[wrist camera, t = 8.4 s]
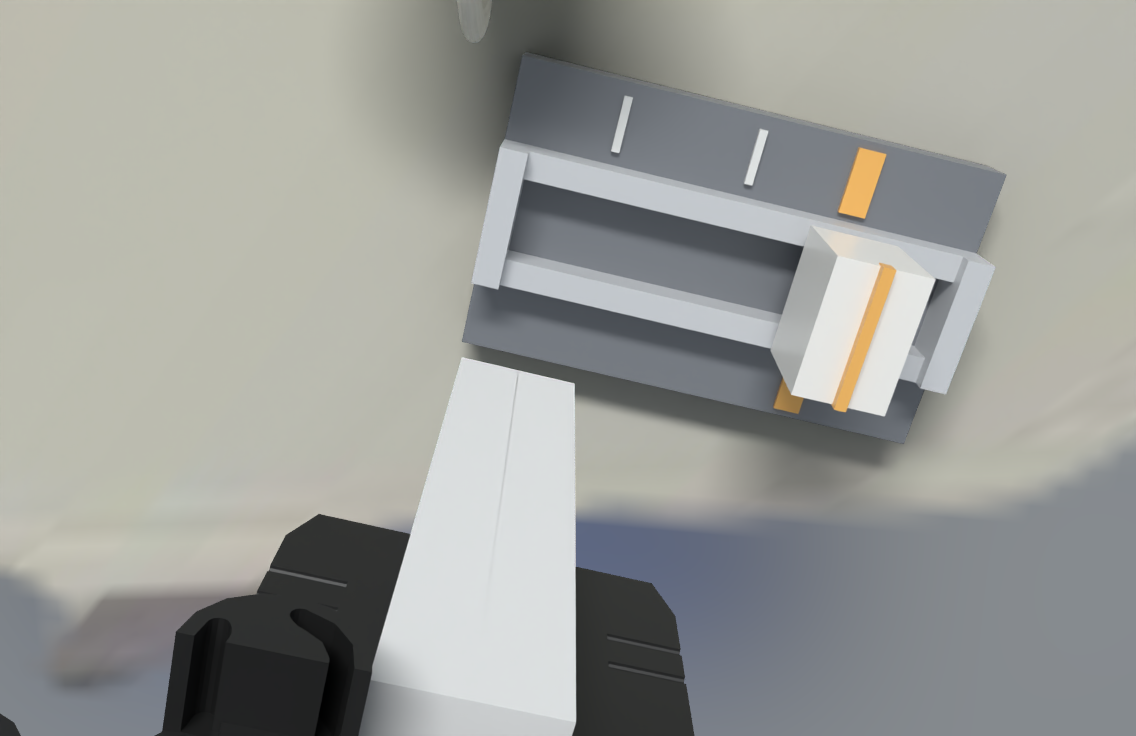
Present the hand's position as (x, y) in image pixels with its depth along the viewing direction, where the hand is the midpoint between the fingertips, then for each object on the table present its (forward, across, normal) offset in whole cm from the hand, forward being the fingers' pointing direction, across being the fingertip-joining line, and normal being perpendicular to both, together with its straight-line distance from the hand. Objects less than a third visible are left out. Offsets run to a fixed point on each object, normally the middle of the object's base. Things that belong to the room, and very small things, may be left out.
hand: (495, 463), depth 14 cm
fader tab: (+25, +11, -2) cm, 28 cm away
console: (+28, +8, -2) cm, 29 cm away
